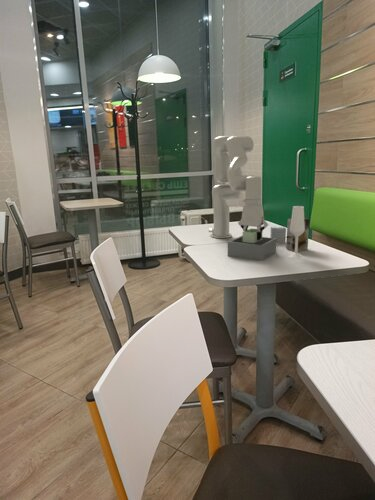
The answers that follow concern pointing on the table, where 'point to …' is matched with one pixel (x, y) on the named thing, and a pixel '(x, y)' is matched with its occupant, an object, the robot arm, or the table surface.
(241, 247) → the box
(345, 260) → the table surface
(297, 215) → the champagne flute
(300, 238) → the coffee box
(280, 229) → the medicine box
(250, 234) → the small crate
